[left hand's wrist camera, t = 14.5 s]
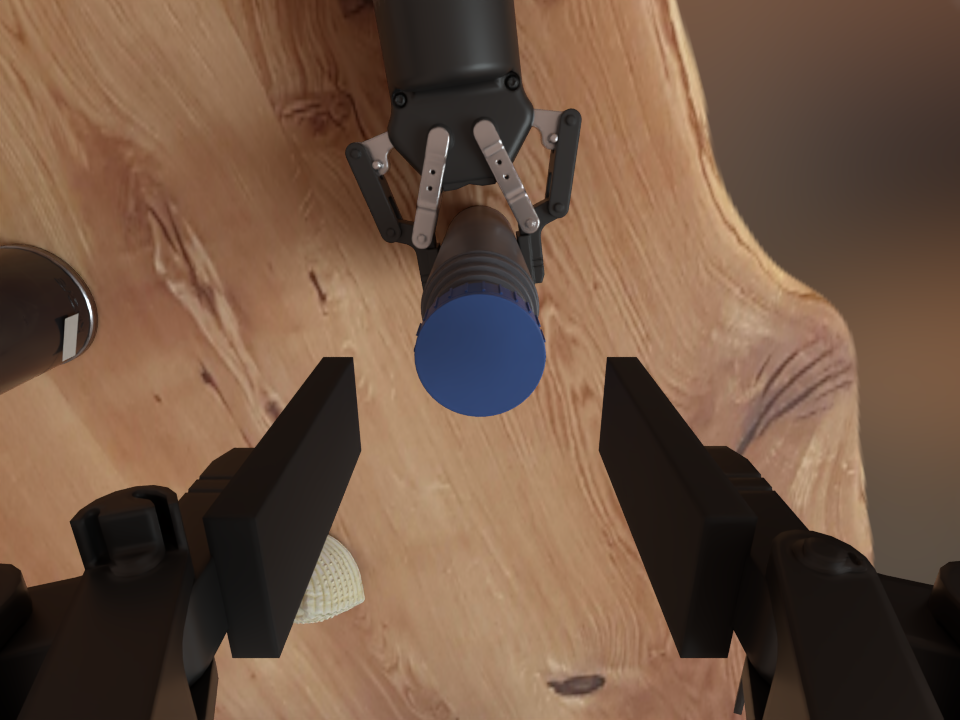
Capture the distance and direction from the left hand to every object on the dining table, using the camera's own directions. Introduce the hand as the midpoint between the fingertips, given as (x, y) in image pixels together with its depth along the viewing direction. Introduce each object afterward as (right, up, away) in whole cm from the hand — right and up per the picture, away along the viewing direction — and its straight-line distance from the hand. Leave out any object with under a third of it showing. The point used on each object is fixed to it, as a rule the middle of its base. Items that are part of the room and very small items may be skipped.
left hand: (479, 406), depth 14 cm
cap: (0, +1, +4) cm, 4 cm away
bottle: (0, +10, +26) cm, 28 cm away
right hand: (0, +5, +21) cm, 22 cm away
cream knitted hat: (-16, -18, +37) cm, 44 cm away
